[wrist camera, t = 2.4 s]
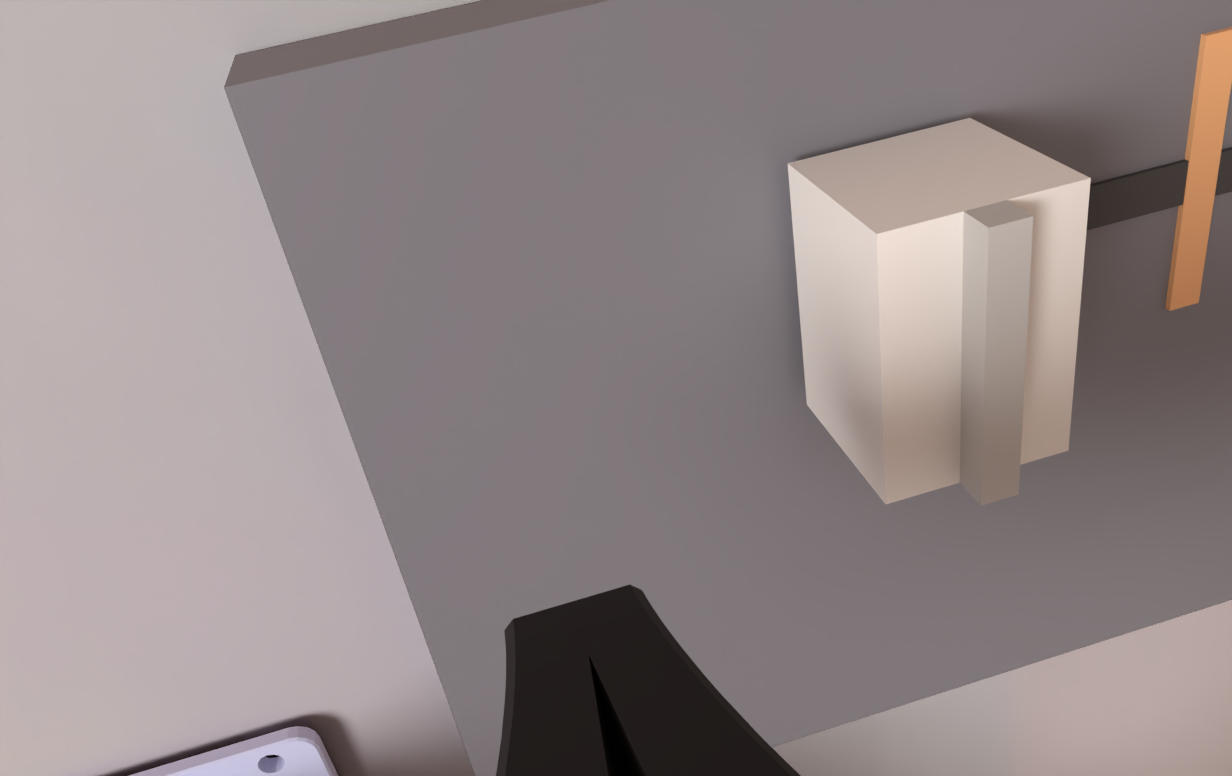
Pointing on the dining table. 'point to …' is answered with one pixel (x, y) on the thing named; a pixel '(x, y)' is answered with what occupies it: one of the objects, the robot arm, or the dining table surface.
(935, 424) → the fader knob
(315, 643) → the dining table surface
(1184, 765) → the dining table surface
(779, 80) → the console
